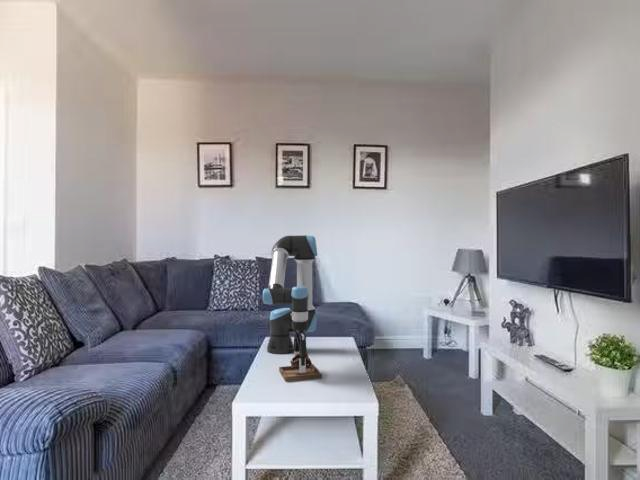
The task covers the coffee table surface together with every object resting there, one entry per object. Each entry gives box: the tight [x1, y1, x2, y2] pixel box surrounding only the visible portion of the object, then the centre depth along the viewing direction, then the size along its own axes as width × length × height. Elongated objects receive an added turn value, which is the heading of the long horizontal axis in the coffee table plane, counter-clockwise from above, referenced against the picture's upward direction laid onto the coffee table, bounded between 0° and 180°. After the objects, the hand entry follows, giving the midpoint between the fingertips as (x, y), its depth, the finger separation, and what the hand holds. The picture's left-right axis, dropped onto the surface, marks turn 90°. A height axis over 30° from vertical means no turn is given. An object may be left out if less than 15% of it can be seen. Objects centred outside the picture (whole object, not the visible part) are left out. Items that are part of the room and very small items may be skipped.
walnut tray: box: [278, 363, 323, 383], centre depth 192 cm, size 16×17×2 cm
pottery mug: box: [289, 354, 313, 371], centre depth 193 cm, size 12×10×8 cm
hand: (299, 368), depth 192 cm, fingers closed on pottery mug, 10 cm apart
